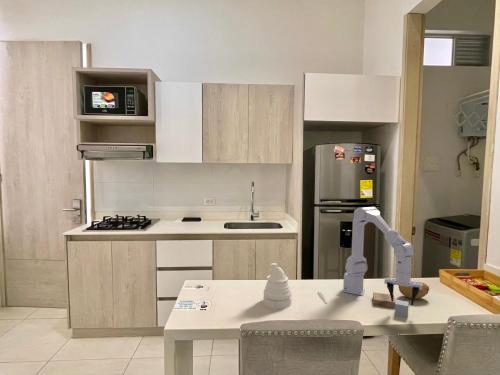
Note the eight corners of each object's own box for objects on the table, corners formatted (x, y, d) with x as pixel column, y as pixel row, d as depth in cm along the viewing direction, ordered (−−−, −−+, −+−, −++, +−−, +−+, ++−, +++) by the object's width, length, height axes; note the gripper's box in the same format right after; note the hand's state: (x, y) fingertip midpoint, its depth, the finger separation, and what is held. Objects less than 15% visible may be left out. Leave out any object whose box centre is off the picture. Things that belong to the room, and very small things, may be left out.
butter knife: (323, 292, 163) (317, 291, 163) (338, 317, 136) (331, 317, 136) (323, 293, 163) (317, 292, 163) (337, 319, 136) (330, 318, 136)
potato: (433, 302, 153) (434, 286, 152) (402, 301, 154) (403, 284, 153) (423, 294, 163) (424, 278, 162) (394, 293, 163) (395, 277, 163)
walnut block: (373, 305, 149) (374, 299, 149) (373, 298, 158) (373, 292, 158) (395, 308, 147) (395, 302, 146) (393, 301, 155) (393, 294, 155)
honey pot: (259, 306, 147) (260, 266, 145) (268, 295, 159) (268, 259, 157) (287, 310, 142) (288, 270, 141) (294, 299, 154) (295, 262, 153)
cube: (394, 315, 140) (395, 303, 139) (395, 310, 144) (396, 299, 144) (407, 317, 137) (408, 306, 137) (408, 313, 142) (408, 301, 141)
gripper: (384, 271, 139) (382, 302, 140) (422, 276, 132) (421, 309, 133) (385, 266, 145) (384, 296, 146) (422, 272, 139) (421, 303, 139)
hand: (402, 302), depth 140 cm, fingers open, 7 cm apart
